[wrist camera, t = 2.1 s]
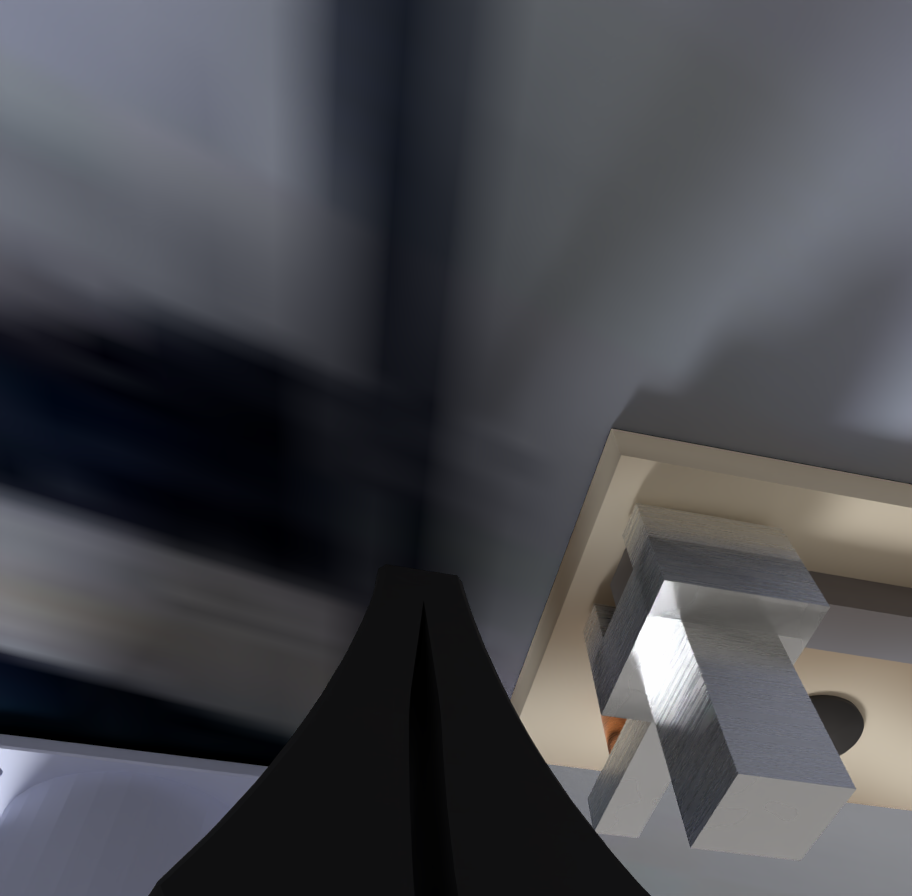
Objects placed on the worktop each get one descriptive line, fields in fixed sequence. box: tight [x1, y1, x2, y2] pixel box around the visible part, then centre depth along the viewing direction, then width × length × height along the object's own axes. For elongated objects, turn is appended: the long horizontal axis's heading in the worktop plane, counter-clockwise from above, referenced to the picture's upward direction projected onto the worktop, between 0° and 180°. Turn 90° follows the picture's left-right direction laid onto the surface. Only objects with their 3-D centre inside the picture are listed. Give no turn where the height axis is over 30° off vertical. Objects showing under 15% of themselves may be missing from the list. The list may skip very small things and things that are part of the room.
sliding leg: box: [583, 503, 856, 861], centre depth 14 cm, size 7×3×5 cm, turn 168°
